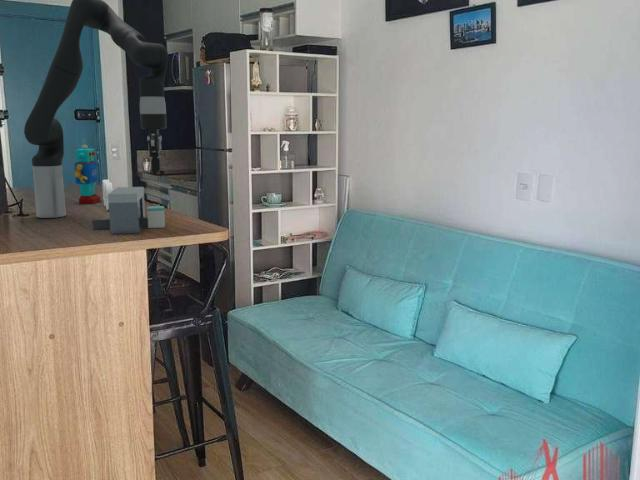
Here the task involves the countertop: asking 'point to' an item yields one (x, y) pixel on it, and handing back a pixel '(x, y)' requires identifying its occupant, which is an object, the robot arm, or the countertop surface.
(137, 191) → the housing
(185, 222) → the countertop surface
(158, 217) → the plug
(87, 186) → the toy robot
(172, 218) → the countertop surface
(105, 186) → the letter
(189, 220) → the countertop surface
